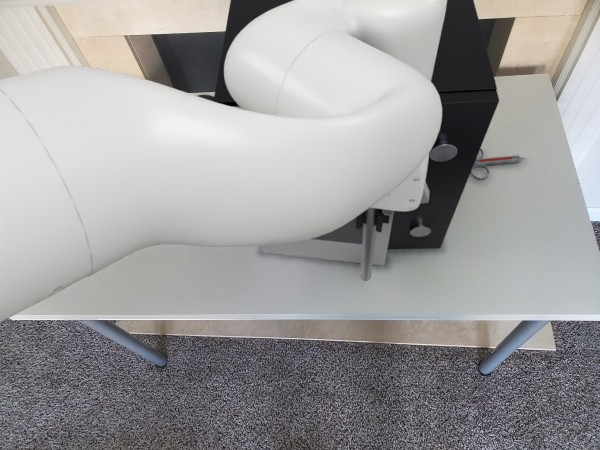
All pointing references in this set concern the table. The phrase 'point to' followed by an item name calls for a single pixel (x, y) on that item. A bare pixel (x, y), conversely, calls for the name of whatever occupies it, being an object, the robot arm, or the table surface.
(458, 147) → the microwave
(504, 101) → the table surface
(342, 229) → the microwave door
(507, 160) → the syringe
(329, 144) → the robot arm
